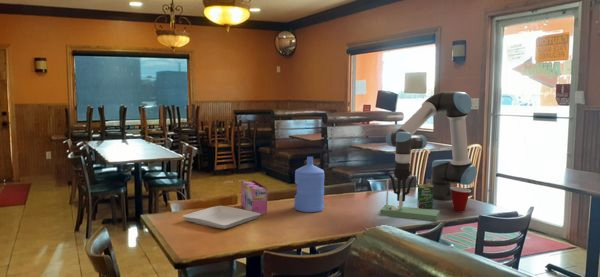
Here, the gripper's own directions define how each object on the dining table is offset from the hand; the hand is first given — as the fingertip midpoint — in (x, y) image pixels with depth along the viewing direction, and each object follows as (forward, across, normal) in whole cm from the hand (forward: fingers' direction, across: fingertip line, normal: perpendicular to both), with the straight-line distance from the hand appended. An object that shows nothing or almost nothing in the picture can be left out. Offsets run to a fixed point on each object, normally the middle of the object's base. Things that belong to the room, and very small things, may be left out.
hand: (400, 207), depth 243 cm
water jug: (+4, -46, -11) cm, 48 cm away
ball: (+2, -3, 0) cm, 3 cm away
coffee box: (+4, +10, +20) cm, 22 cm away
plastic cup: (+4, +28, +23) cm, 36 cm away
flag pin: (+1, -8, +5) cm, 10 cm away
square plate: (+4, -76, -51) cm, 91 cm away
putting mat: (+4, +4, +1) cm, 6 cm away
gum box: (+4, -72, -25) cm, 77 cm away
